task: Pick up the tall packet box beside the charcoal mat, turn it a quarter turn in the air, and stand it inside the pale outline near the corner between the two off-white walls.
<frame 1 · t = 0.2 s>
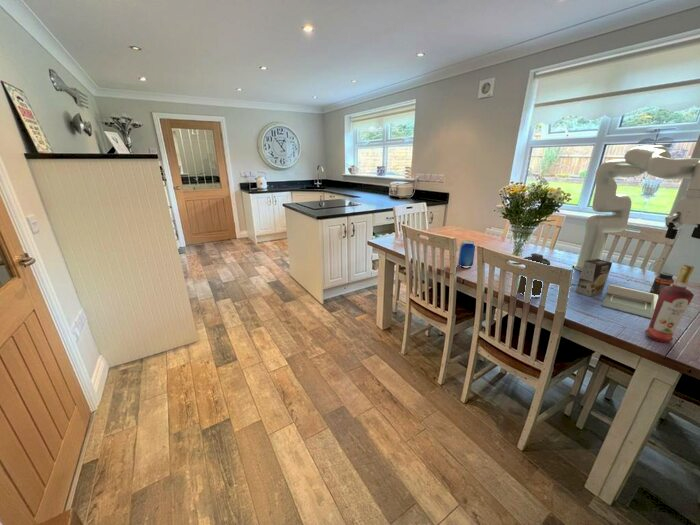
hand: (682, 238, 108), 31 cm above the table, tool pointing down, fingers open, 9 cm apart
coffee box: (588, 292, 134), on the table
supplement bottle: (657, 296, 128), on the table
canister: (529, 293, 135), on the table
corner arena: (628, 305, 121), on the table
liquor: (657, 338, 99), on the table
beer can: (465, 266, 170), on the table
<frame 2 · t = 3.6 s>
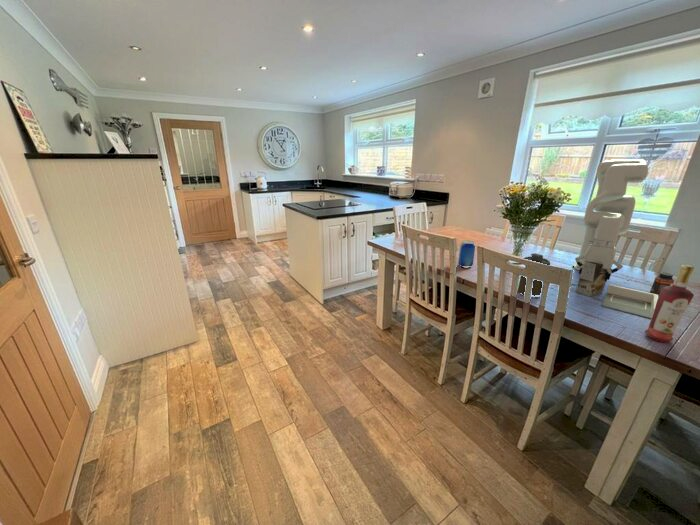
hand: (593, 277, 131), 8 cm above the table, tool pointing down, fingers closed on coffee box, 8 cm apart
coffee box: (588, 292, 134), on the table, touching gripper
everything else where it was.
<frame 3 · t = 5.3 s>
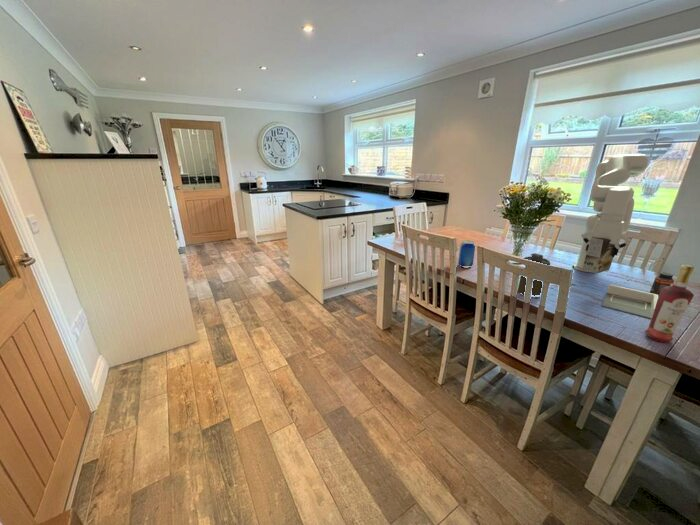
hand: (600, 254, 127), 19 cm above the table, tool pointing down, fingers closed on coffee box, 8 cm apart
coffee box: (595, 269, 130), point 12 cm above the table, touching gripper
everything else where it was.
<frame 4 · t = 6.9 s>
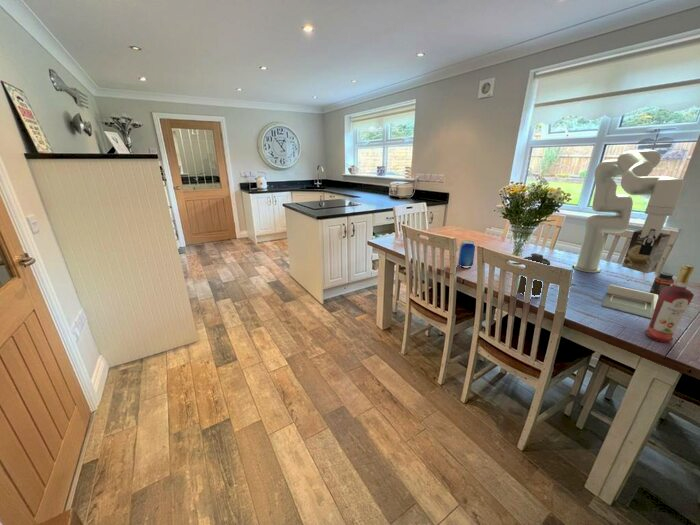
hand: (644, 251, 115), 24 cm above the table, tool pointing down, fingers closed on coffee box, 8 cm apart
coffee box: (638, 269, 118), point 16 cm above the table, touching gripper
everything else where it was.
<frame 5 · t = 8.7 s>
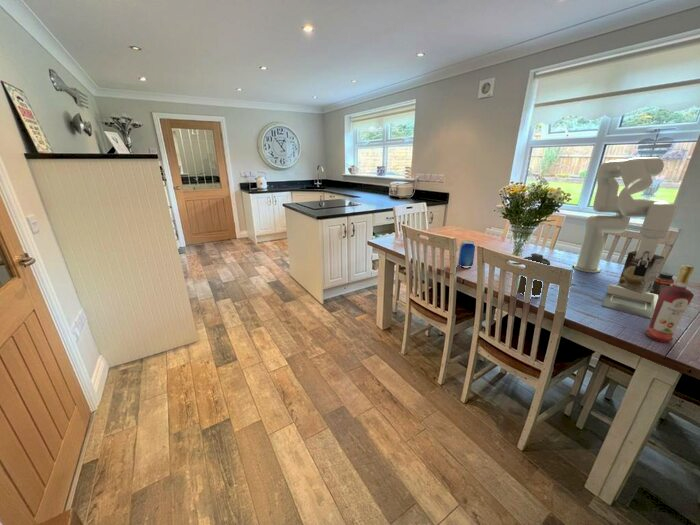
hand: (639, 272, 118), 15 cm above the table, tool pointing down, fingers closed on coffee box, 8 cm apart
coffee box: (633, 289, 120), point 7 cm above the table, touching gripper
everything else where it was.
when the fingers open (9 cm above the table, at t = 10.4 s): coffee box drops 1 cm, resting on corner arena.
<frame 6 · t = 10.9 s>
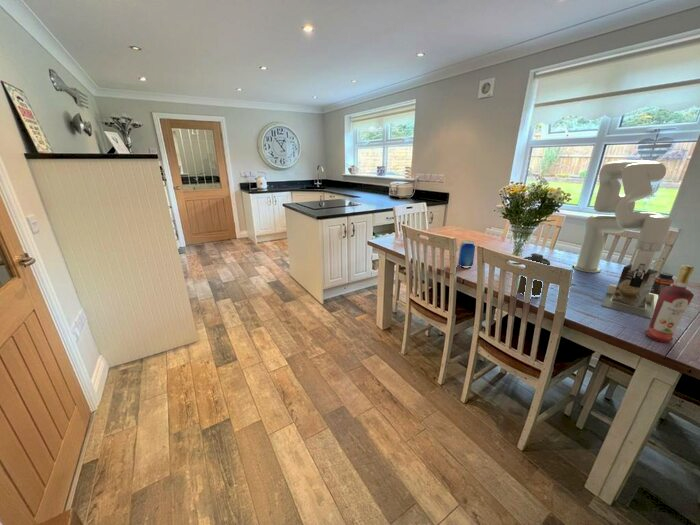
hand: (635, 283, 120), 10 cm above the table, tool pointing down, fingers open, 9 cm apart
coffee box: (628, 301, 123), resting on corner arena
everything else where it was.
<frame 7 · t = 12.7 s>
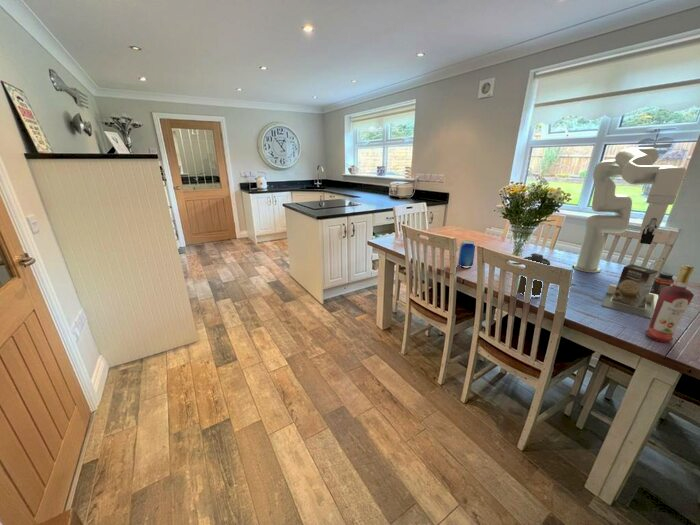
hand: (645, 240, 115), 28 cm above the table, tool pointing down, fingers open, 9 cm apart
nothing on the table moved.
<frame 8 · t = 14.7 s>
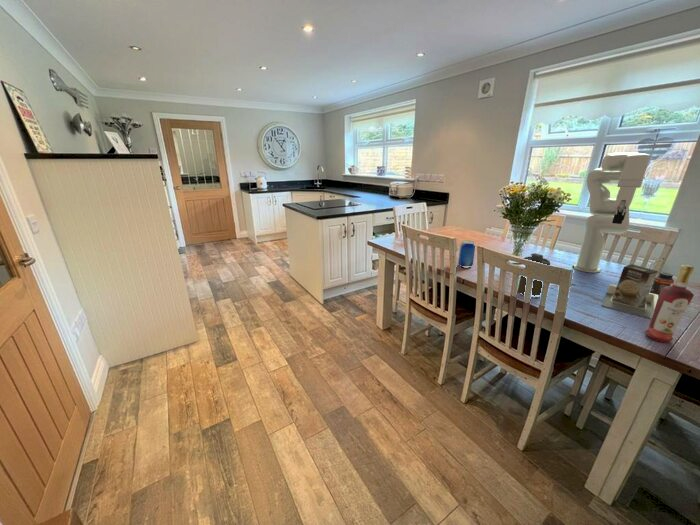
hand: (617, 221, 128), 33 cm above the table, tool pointing down, fingers open, 9 cm apart
nothing on the table moved.
at the end: coffee box 0.5 cm from the target spot, resting on corner arena; coffee box tilted 0°; the gripper is holding nothing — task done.
